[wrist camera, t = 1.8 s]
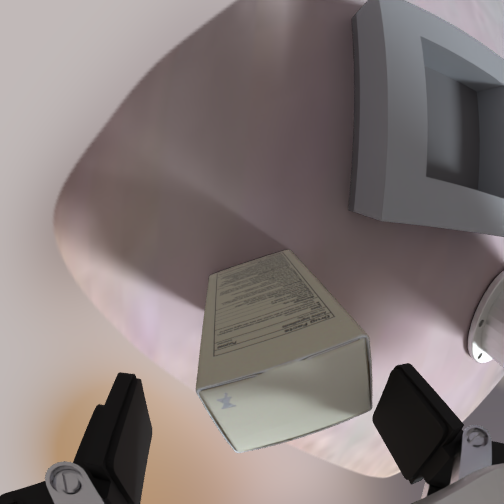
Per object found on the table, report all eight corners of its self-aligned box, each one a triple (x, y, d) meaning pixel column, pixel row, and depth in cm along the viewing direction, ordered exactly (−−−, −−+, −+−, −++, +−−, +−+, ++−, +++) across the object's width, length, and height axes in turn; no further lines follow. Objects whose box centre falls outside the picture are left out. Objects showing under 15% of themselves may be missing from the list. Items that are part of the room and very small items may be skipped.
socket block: (484, 77, 17) (517, 70, 12) (483, 228, 21) (519, 239, 16) (351, 18, 16) (377, -11, 11) (348, 210, 20) (381, 221, 15)
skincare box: (227, 324, 22) (228, 457, 10) (207, 273, 20) (183, 391, 9) (308, 298, 21) (376, 413, 10) (294, 245, 20) (371, 334, 8)
